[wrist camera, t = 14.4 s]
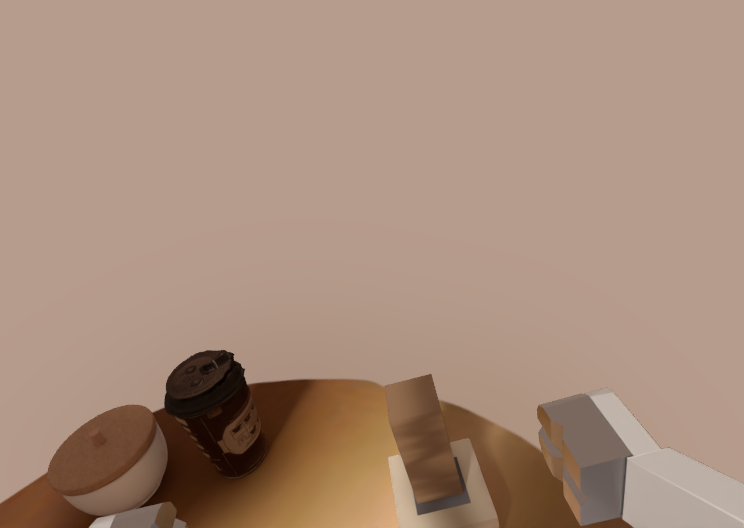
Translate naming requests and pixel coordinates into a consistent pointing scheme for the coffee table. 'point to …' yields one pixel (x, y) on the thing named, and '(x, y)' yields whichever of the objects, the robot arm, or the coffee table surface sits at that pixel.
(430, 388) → the walnut pillar
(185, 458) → the coffee table surface
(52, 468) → the lidded jar
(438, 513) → the birch plinth
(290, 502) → the coffee table surface
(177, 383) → the coffee cup
